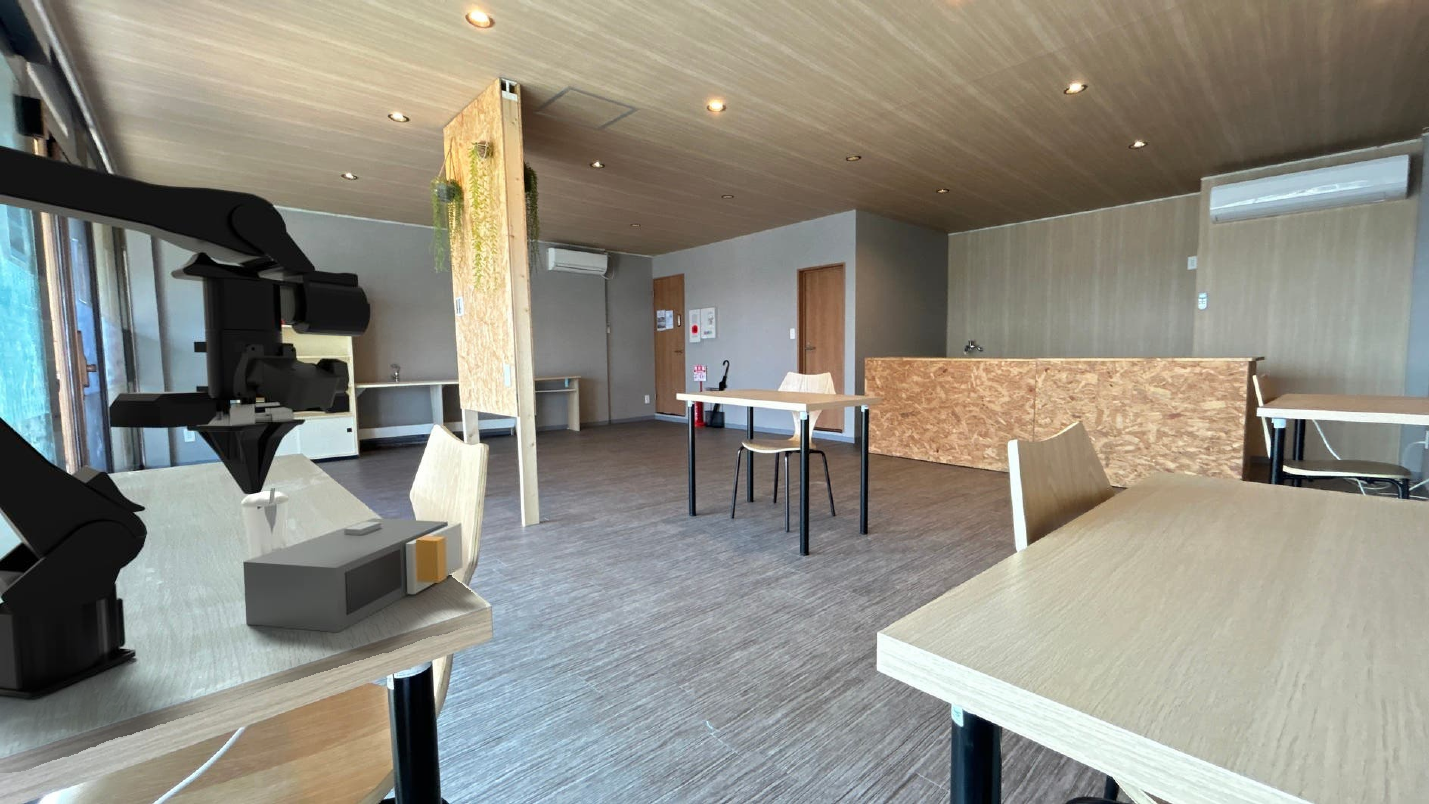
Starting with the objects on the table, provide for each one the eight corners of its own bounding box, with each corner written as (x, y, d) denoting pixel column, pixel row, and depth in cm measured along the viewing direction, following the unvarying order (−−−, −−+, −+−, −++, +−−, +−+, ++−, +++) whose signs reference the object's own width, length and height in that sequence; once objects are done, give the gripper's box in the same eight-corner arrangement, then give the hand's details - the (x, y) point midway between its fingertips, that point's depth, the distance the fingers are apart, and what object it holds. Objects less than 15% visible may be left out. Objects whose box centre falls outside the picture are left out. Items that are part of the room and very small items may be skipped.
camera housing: (339, 632, 52) (336, 561, 52) (246, 624, 54) (243, 555, 53) (456, 568, 69) (454, 514, 69) (382, 563, 71) (380, 510, 70)
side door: (435, 595, 60) (433, 542, 59) (407, 593, 60) (405, 540, 60) (481, 568, 68) (480, 521, 68) (456, 566, 68) (455, 520, 68)
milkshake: (252, 576, 66) (248, 491, 66) (239, 566, 70) (235, 485, 69) (298, 565, 70) (295, 485, 69) (284, 557, 73) (280, 480, 73)
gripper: (213, 322, 44) (223, 522, 45) (390, 336, 62) (395, 478, 63) (98, 324, 46) (110, 516, 47) (303, 337, 64) (309, 475, 65)
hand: (252, 493), depth 55 cm, fingers closed
